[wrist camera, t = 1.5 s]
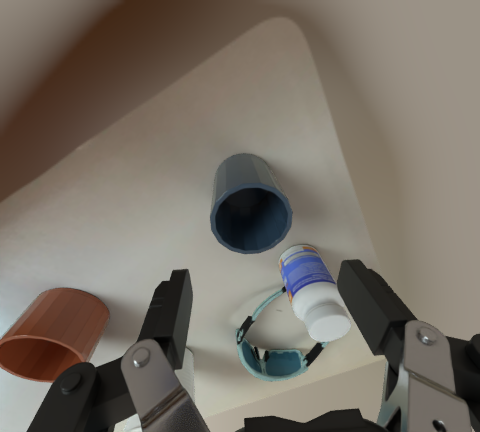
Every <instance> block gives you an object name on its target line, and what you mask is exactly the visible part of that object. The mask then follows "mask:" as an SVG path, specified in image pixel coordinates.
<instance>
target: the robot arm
mask: <svg viewBox="0 0 480 432" xmlns="http://www.w3.org/2000/svg"><path fill="white" fill-rule="evenodd" d="M337 289H338V292H339V294H340V296H341V298H342V300H343V301H344V303H345V305H346V307H347V308H348V310H349V312H350V314H351V316H352V317H353V319H354V321H355V323H356V324H357V326H358V328H359V330H360V332H361V333H362V335H363V337H364V339H365V340H366V342H367V344H368V346H369V348H370V349H371V351H372V353H373V355H374V356H376V355H385V357H386V359H387V362H386V366H385V375H384V385H383V394H382V403H381V409H380V412H379V416H378V419H377V423H374V422H372V421H369V420H367V419H363V418H362V415H361V413H360V410H359V409H346V410H335V411H330V412H327V413H325V414H323V415H321V416H319V417H317V418H315V419H313V420H311V421H309V422H306V423H300V422H296V421H292V420H288V419H283V418H280V417H276V416H265V417H253V418H245V419H244V424H245V427H243V428H241V429H239V430H237V431H236V432H472V429H471V426H472V428H473V429H474V431H475V432H480V334H476V335H474V336H473V337H472V338H471V340H470V341H466V340H461V339H457V338H452V337H448V336H444V335H443V334H442V333H441V332H440V331H439V330H438V329H437V328H435V327H434V326H432V325H430V324H428V323H426V322H423V321H419V320H417V318H416V317H415V316H414V315H413V314H412V312H411V311H410V310H409V309H408V308H407V306H406V305H405V304H404V303H403V302H402V300H401V299H400V298H399V297H398V296H397V295H396V293H394V292H393V290H392V289H391V288H390V286H388V284H387V283H386V281H385V280H384V279H383V278H382V277H381V276H380V275H379V274H377V273H376V272H375V271H373V270H372V269H367V268H366V267H365V265H364V264H363V263H362V262H361V261H360V260H358V259H356V260H344V261H342V264H341V268H340V272H339V276H338V280H337ZM192 301H193V292H192V285H191V280H190V274H189V270H188V269H181V270H173V271H172V274H171V277H170V281H162V282H161V283H160V284H159V286H158V287H157V288H156V289H155V292H154V295H153V297H152V301H151V303H150V306H149V309H148V312H147V314H146V317H145V320H144V323H143V326H142V329H141V332H140V334H139V337H138V340H137V342H136V343H135V344H134V345H132V346H131V347H130V348H129V349H128V350H127V351H126V353H125V354H124V355H123V356H122V357H120V358H118V359H116V360H114V361H111V362H108V363H106V364H103V365H101V366H98V367H94V365H93V364H92V363H89V362H81V363H77V364H75V365H72V366H71V367H69V368H67V369H66V370H65V371H63V372H62V373H61V374H60V375H59V376H58V377H57V378H56V380H55V381H54V382H53V384H52V385H51V387H50V389H49V391H48V393H47V395H46V396H45V398H44V400H43V402H42V404H41V406H40V408H39V410H38V411H37V413H36V415H35V417H34V419H33V421H32V423H31V424H30V426H29V428H28V430H27V432H113V431H114V428H115V424H116V423H118V422H120V421H123V420H125V419H127V418H129V417H131V416H133V415H135V414H138V416H139V419H140V423H141V429H142V432H210V430H209V429H208V427H207V425H206V423H205V421H204V420H203V418H202V416H201V414H200V413H199V411H198V409H197V407H196V405H195V404H194V402H193V400H192V398H191V397H190V395H189V393H188V392H187V390H186V389H185V388H183V386H182V385H181V383H180V381H179V379H178V378H177V376H176V374H175V370H180V369H182V367H183V360H184V354H185V347H186V341H187V334H188V328H189V321H190V315H191V308H192Z"/></svg>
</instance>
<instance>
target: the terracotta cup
mask: <svg viewBox="0 0 480 432" xmlns="http://www.w3.org/2000/svg"><path fill="white" fill-rule="evenodd" d="M109 319H110V314H109V311H108V309H107V307H106V306H105V304H104V303H103V302H102V301H100V300H99V299H98V298H96V297H95V296H93V295H91V294H89V293H86V292H84V291H80V290H76V289H71V288H55V289H50V290H47V291H45V292H43V293H41V294H40V295H39V296H38V297H37V298H36V299H35V300H34V301H33V302H32V303H31V304H30V305H29V306H28V307H27V308H26V309H25V311H24V312H23V313H22V314H21V315H20V316H19V317H18V318H17V319H16V321H15V322H14V323H13V324H12V325H11V326H10V327H9V328H8V329H7V331H6V332H5V333H4V334H3V335H2V336H1V337H0V367H1V368H2V369H4V370H5V371H7V372H9V373H11V374H13V375H15V376H18V377H21V378H24V379H28V380H33V381H37V382H50V383H53V382H54V381H55V380H56V378H57V377H58V376H59V375H60V374H61V373H62V372H63V371H65V370H66V369H67V368H69V367H71V366H72V365H75V364H77V363H81V362H89V361H90V359H91V357H92V355H93V353H94V351H95V349H96V347H97V345H98V343H99V341H100V339H101V337H102V335H103V333H104V331H105V329H106V327H107V325H108V322H109Z"/></svg>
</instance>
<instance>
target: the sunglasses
mask: <svg viewBox="0 0 480 432" xmlns="http://www.w3.org/2000/svg"><path fill="white" fill-rule="evenodd" d="M285 291H286V287H285V286H284V287H283V288H282V289H280V290H279V291H277V292H276V293H274V294H273V295H271V296H270V297H268V298H267V299H266V300H265V301H263V302H262V303H261V304H260V305H259V307H258V308H257V309H256V310H255V312H254V313H253V315H252V316H248V317H247V319H246V320H245V321H244V323H243V324H242V326H241V328H240V329H236V340H237V350H238V355H239V358H240V360H241V362H242V364H243V365H244V366H245V368H246V369H247V370H248V371H249V372H250V373H251V374H253V375H254V377H256V378H259V379H262V380H264V381H271V382H272V381H281V380H287V379H290V378H293V377H296V376H298V375H300V374H302V373H304V372H305V371H307V370H308V366H310V364H311V363H312V362H313V361H314V360H315V359H316V358H317V356H318V355H319V354H320V353H321V351H322V350H323V349H324V347H325V346H326V345H327V344H328V343H329V342H321V343H317V344H316V345H315V346H314V347H313V349H312V350H311V351H310V352H309V353H308V354H307V355H306V356H304V355H303V354H302V352H300V351H299V350H296V349H293V350H271V351H267V350H266V351H265V354H264V356H263V360H262V359H260V356H259V351H258V349H257V347H256V346H255V347H254V349H255V351H254V349H253V347H252V346H251V345H250V343H249V342H248V341H247V340H246V339H245V338H244V336H245V334H246V332H247V331H248V329H249V327H250V326H251V324H252V323H253V322H254V321H255V320H256V317H257V315H258V314H259V313H260V312H261V311H262V310H263V309H264V307H265V306H266V305H268V304H269V303H270V302H271V301H272V300H273V299H275V298H276V297H278V296H279V295H281V294H282V293H284V292H285ZM255 352H256V353H255ZM300 358H301V359H300ZM301 362H302V366H301Z"/></svg>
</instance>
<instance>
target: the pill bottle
mask: <svg viewBox="0 0 480 432" xmlns="http://www.w3.org/2000/svg"><path fill="white" fill-rule="evenodd" d="M279 268H280V272H281V275H282V278H283V281H284V284H285V287H286V290H287V294H288V297H289V300H290V303H291V306H292V309H293V311H294V313H295V315H296V316H297V317H298V318H299V319H300V320H302V321H304V322H305V325H306V328H307V330H308V333H309V335H310V337H311V338H312V339H314V340H316V341H319V342H329V341H333V340H336V339H339V338H341V337H342V336H344V335H345V334H346V333H347V332H348V331H349V330H350V328H351V321H350V319H349V317H348V315H347V313H346V311H345V310H344V309H343V307H344V301H343V300H342V298H341V296H340V294H339V292H338V289H337V283H336V281H335V279H334V278H333V276H332V274H331V273H330V271H329V269H328V268H327V266H326V265H325V263H324V261H323V259H322V258H321V256H320V254H319V253H318V251H317V250H316V249H315V248H313V247H312V246H309V245H297V246H293V247H291V248H289V249H287V250H286V251H285V252H284V253H283V254H282V255H281V257H280V259H279Z"/></svg>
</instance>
